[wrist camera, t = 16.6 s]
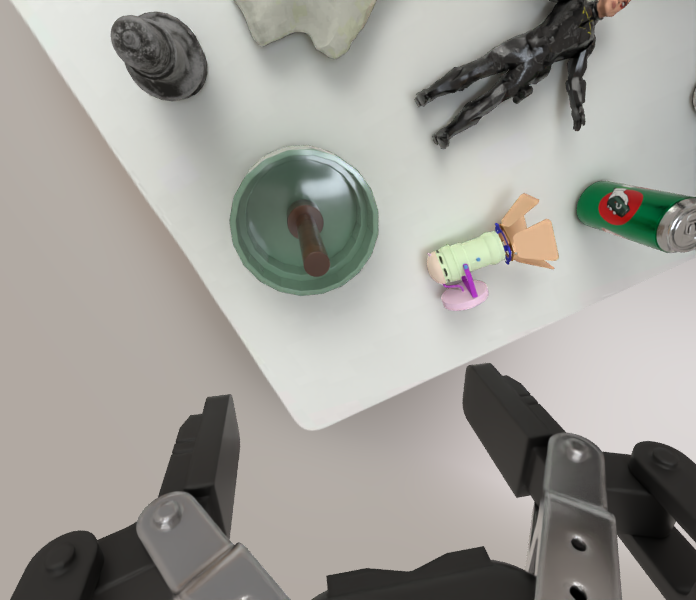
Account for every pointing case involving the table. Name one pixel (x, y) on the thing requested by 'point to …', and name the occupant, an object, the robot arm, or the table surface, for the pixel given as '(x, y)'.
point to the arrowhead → (308, 21)
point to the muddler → (309, 235)
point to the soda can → (640, 215)
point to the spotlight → (492, 255)
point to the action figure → (527, 64)
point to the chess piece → (160, 54)
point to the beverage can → (694, 99)
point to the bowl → (271, 218)
